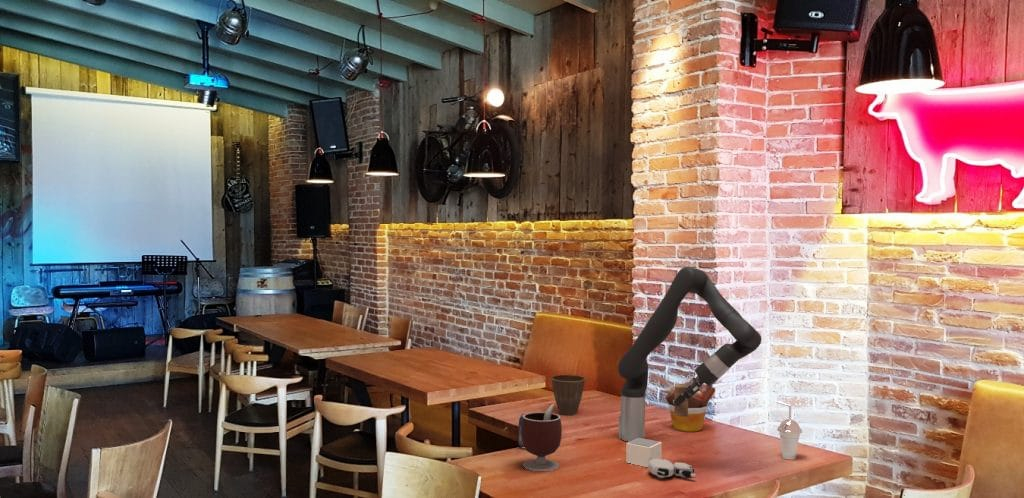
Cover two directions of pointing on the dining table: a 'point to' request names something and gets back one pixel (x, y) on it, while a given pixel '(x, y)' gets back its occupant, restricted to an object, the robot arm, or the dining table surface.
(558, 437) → the mate gourd
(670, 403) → the bucket of meat
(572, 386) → the plant pot
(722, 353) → the robot arm
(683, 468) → the robot toy
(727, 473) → the dining table surface
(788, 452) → the cup with straw
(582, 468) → the dining table surface
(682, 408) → the walnut block
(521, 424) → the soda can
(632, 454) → the block
